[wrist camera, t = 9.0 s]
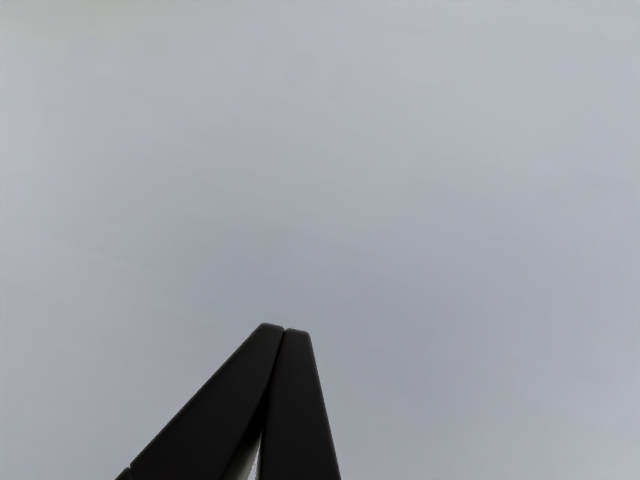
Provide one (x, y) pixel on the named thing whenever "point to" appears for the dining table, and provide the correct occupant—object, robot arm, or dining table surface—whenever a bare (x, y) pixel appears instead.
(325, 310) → the dining table surface
